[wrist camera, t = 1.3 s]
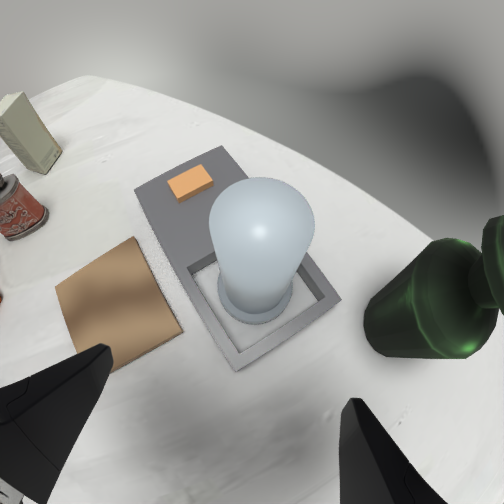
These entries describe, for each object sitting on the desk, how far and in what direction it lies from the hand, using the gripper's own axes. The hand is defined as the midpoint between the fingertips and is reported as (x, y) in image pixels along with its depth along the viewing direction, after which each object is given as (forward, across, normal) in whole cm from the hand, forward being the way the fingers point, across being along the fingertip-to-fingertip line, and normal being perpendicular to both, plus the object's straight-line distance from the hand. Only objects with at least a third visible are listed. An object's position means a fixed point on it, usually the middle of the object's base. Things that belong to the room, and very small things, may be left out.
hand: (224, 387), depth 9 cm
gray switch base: (+17, +3, +2) cm, 17 cm away
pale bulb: (+14, 0, +4) cm, 15 cm away
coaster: (+11, +12, +8) cm, 18 cm away
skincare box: (+22, +33, -4) cm, 40 cm away
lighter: (+15, +29, +3) cm, 33 cm away
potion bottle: (+14, -13, +5) cm, 20 cm away
